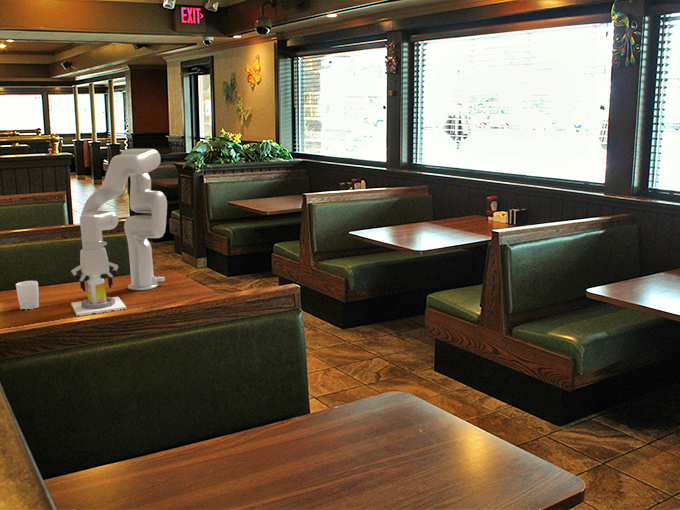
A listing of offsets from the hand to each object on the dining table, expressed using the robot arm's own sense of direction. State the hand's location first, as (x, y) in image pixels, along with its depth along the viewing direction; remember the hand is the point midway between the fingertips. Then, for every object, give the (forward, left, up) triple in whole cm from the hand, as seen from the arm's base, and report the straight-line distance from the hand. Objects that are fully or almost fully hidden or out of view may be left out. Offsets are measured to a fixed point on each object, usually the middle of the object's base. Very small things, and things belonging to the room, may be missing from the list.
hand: (97, 288), depth 260 cm
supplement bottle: (0, 0, -7) cm, 7 cm away
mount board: (0, 0, -8) cm, 8 cm away
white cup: (+24, -14, -8) cm, 29 cm away
